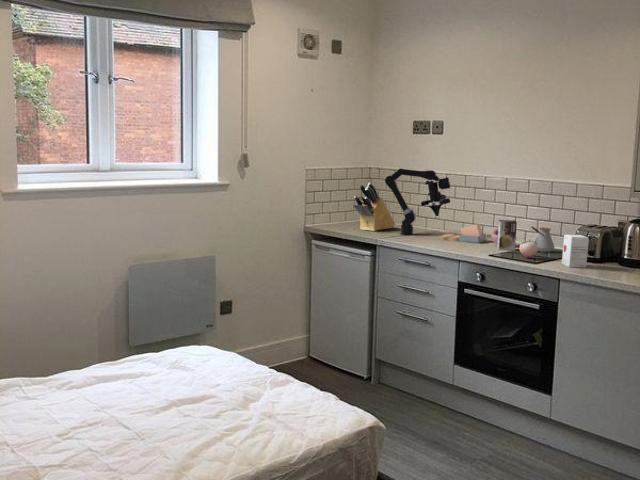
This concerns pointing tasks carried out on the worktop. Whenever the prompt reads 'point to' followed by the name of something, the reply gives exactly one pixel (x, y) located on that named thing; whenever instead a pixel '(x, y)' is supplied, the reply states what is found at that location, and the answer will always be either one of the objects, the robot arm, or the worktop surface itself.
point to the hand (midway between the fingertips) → (437, 216)
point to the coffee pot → (544, 240)
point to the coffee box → (506, 235)
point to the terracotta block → (472, 230)
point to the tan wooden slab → (449, 237)
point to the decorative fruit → (528, 248)
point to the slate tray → (471, 238)
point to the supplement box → (575, 250)
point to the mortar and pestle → (495, 235)
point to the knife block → (373, 210)
